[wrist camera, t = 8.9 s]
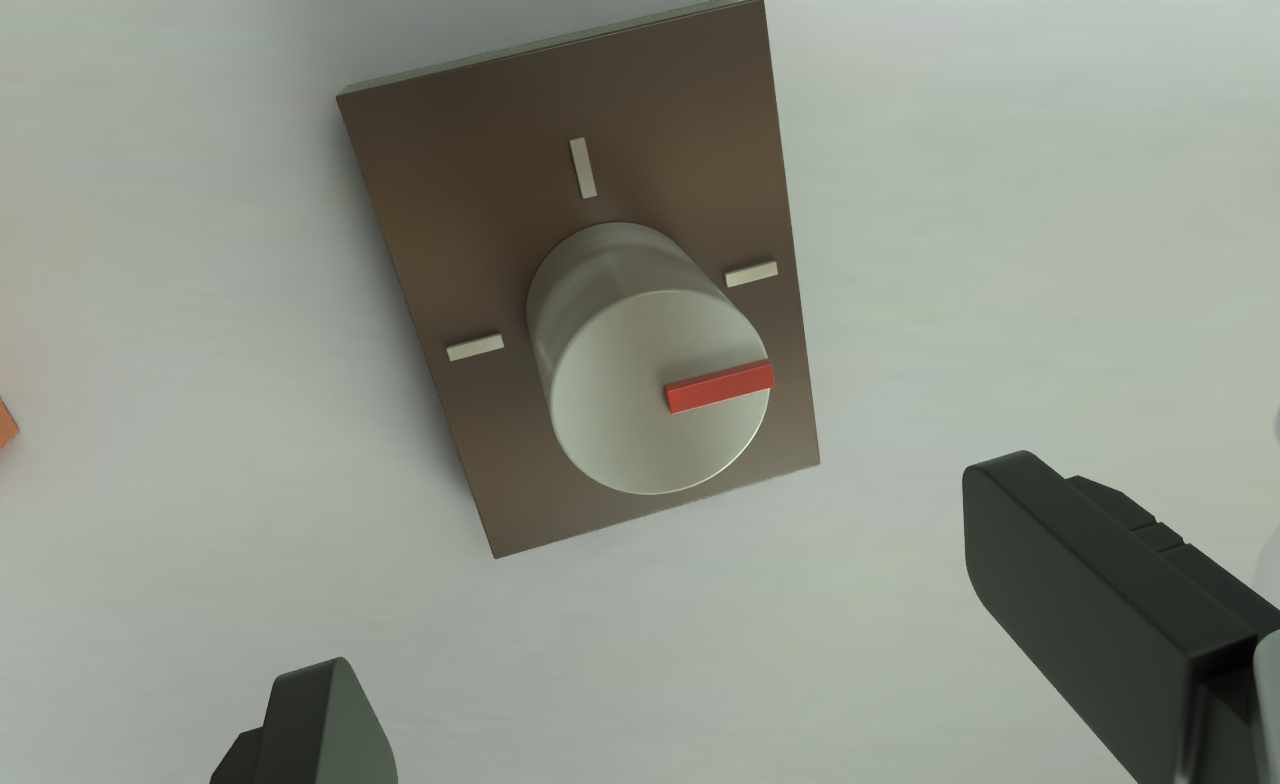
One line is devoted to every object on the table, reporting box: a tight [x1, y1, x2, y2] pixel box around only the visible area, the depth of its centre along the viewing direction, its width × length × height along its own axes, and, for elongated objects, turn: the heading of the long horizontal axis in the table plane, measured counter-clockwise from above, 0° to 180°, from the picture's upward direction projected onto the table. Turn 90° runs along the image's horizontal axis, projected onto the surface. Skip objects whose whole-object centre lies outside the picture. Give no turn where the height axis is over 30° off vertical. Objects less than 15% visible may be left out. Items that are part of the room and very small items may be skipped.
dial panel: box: [336, 0, 820, 559], centre depth 23 cm, size 13×10×3 cm
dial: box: [526, 222, 775, 495], centre depth 20 cm, size 5×5×6 cm
